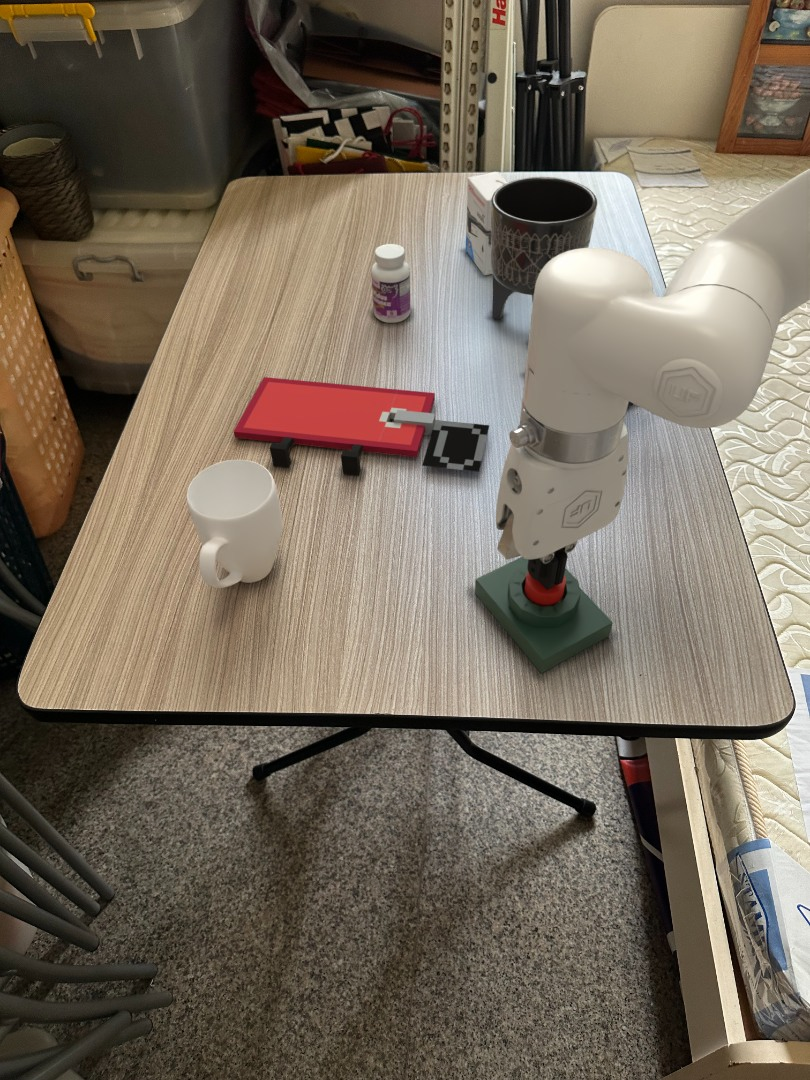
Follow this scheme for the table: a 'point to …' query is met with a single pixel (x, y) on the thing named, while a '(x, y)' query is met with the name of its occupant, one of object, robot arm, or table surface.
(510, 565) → the button box
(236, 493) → the mug
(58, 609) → the table surface
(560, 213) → the planter
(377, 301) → the pill bottle
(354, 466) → the red board with handle
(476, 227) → the ink box
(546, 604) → the button
